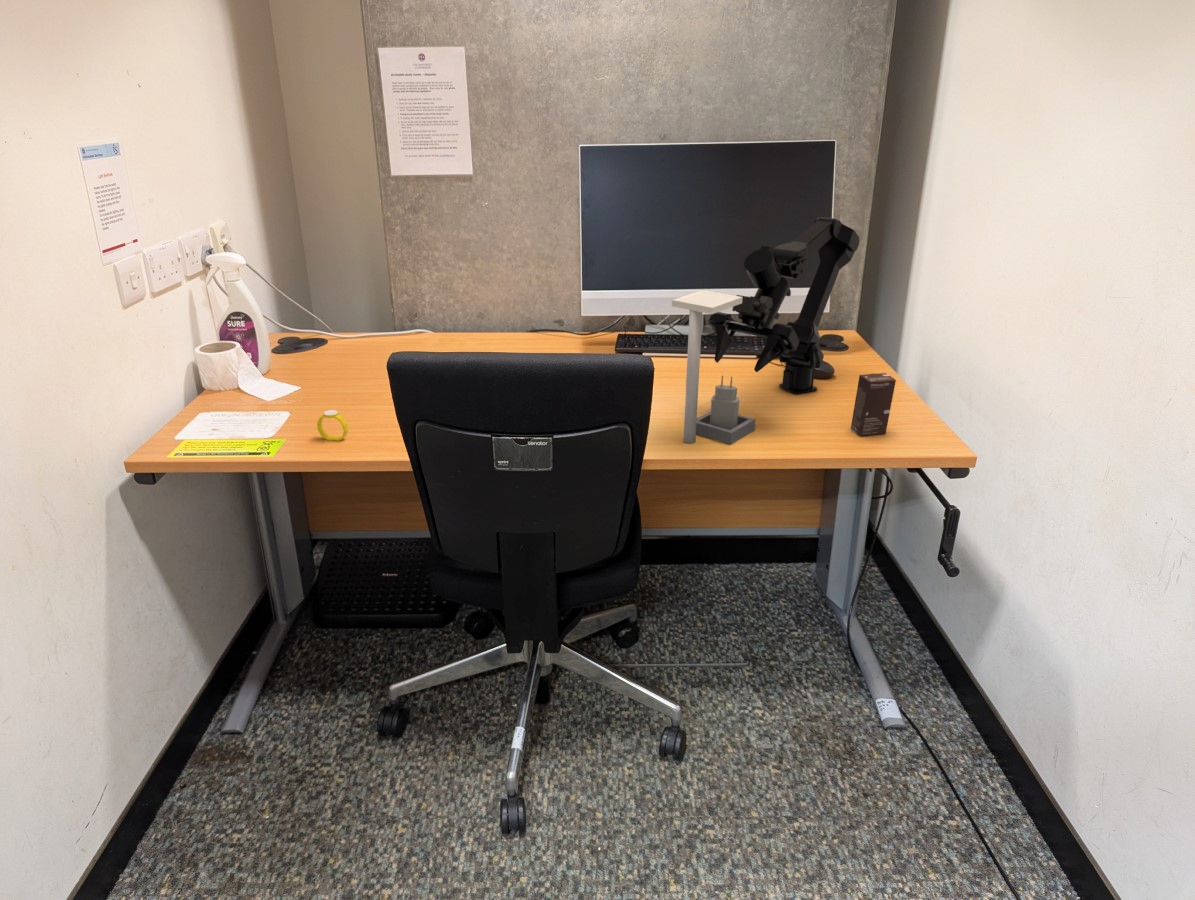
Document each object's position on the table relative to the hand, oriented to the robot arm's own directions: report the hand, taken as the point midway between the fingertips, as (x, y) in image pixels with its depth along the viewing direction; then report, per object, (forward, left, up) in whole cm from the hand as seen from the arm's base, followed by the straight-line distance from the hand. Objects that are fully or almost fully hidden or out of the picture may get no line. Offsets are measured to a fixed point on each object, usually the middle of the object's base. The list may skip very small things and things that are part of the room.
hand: (735, 366), depth 163 cm
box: (-24, +14, -13) cm, 31 cm away
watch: (+76, -29, -13) cm, 82 cm away
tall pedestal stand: (+6, +1, -13) cm, 15 cm away
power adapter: (+3, +1, -13) cm, 14 cm away
